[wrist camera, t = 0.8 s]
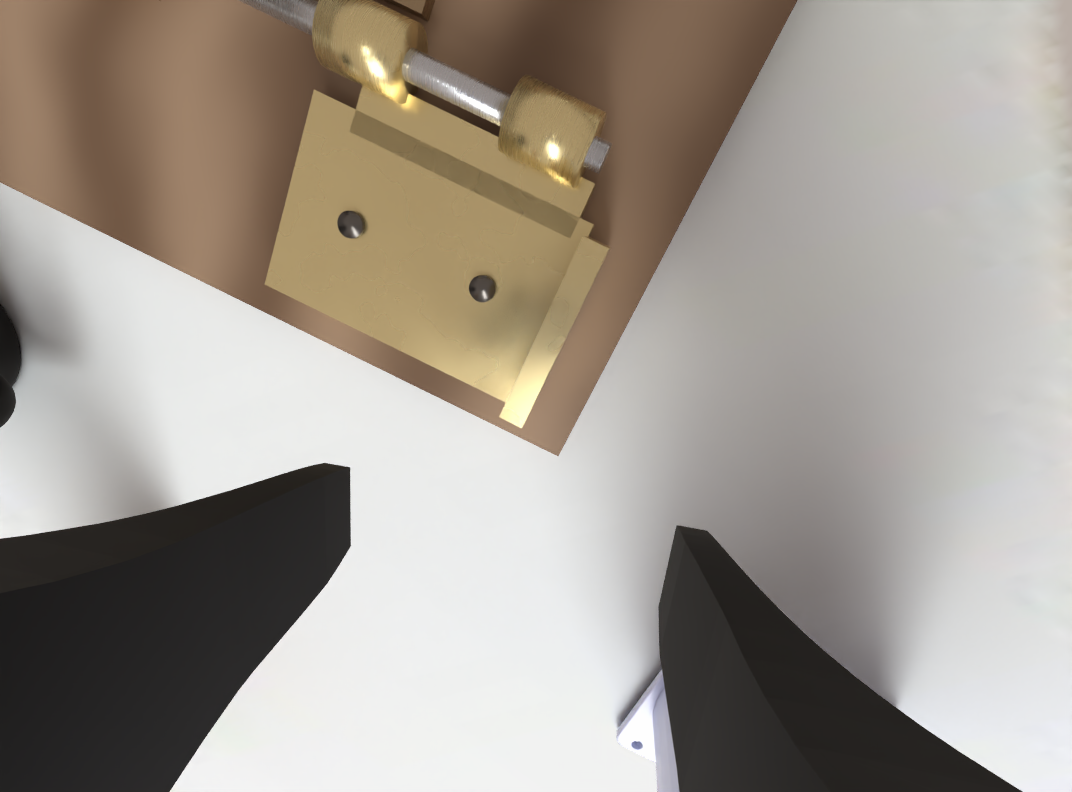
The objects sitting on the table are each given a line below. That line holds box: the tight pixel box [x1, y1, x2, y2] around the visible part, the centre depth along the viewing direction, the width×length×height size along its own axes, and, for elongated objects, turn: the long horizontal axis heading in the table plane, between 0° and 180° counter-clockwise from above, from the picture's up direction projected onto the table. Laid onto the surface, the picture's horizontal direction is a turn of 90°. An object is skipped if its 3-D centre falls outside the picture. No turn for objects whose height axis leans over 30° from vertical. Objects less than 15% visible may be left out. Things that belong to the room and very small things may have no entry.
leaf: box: [238, 0, 612, 428], centre depth 16 cm, size 15×10×3 cm, turn 66°
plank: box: [0, 0, 797, 456], centre depth 17 cm, size 25×20×1 cm
